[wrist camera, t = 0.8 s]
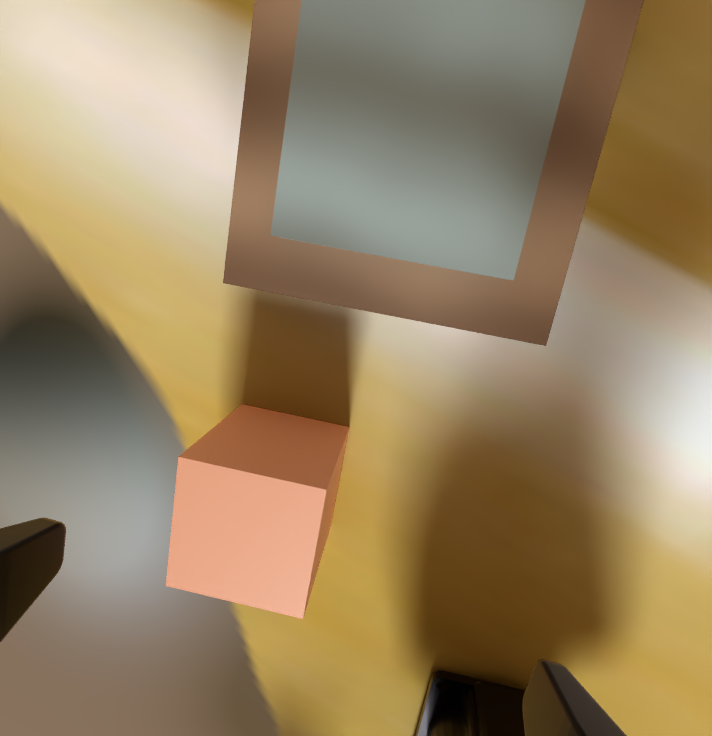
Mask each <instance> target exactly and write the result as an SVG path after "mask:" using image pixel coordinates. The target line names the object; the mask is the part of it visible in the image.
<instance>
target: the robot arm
mask: <svg viewBox="0 0 712 736" xmlns="http://www.w3.org/2000/svg"><path fill="white" fill-rule="evenodd" d="M65 535H66V527H65V525H64V524H63V523H62V522H59V521H55V520H52V519H48V518H39V519H35V520H31V521H27V522H23V523H20V524H16V525H12V526H9V527H4V528H1V529H0V642H1V641H2V640H3V639H4V637H5V636H6V635H7V634H8V632H9V631H10V630H11V629H12V628H13V627H14V625H15V624H16V623H17V622H18V621H19V619H20V618H21V617H22V616H23V614H24V613H25V612H26V611H27V610H28V608H29V607H30V606H31V605H32V603H33V602H34V601H35V600H36V599H37V598H38V596H39V595H40V594H41V593H42V591H43V590H44V589H45V588H46V586H47V585H48V584H49V583H50V582H51V581H52V579H53V578H54V577H55V576H56V574H57V573H58V571H59V569H60V568H61V565H62V562H63V556H64V546H65ZM439 682H444V683H439ZM415 736H626V735H625V733H624V732H623V731H622V730H621V729H620V728H619V727H618V726H617V724H616V723H615V722H614V721H613V720H612V719H611V718H610V717H609V715H608V714H607V713H606V712H605V711H604V710H603V709H602V708H601V706H600V705H599V704H598V703H597V702H596V701H595V700H594V699H593V698H592V696H591V695H590V694H589V693H588V692H587V691H586V690H585V689H584V687H583V686H582V685H581V684H580V683H579V682H578V681H577V680H576V678H575V677H574V676H573V675H572V674H571V673H570V672H569V671H568V669H567V668H565V667H564V666H563V665H561V664H558V663H555V662H551V661H548V660H544V659H541V660H539V661H538V662H537V663H536V665H535V667H534V670H533V672H532V675H531V678H530V680H529V683H528V685H527V688H526V691H523V690H519V689H515V688H511V687H507V686H503V685H499V684H494V683H490V682H486V681H482V680H478V679H474V678H470V677H466V676H462V675H458V674H454V673H450V672H446V671H436V672H434V673H433V674H432V676H431V679H430V683H429V686H428V690H427V694H426V697H425V701H424V705H423V709H422V712H421V716H420V720H419V723H418V727H417V731H416V735H415Z"/></svg>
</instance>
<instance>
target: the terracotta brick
mask: <svg viewBox="0 0 712 736" xmlns="http://www.w3.org/2000/svg"><path fill="white" fill-rule="evenodd" d="M348 432H349V427H347V426H343V425H338V424H333V423H328V422H324V421H319V420H314V419H310V418H305V417H300V416H296V415H291V414H286V413H281V412H277V411H272V410H267V409H263V408H258V407H253V406H248V405H244V404H242V405H240V406H239V407H238V408H237V409H236V410H234V411H233V412H232V413H231V414H229V415H228V416H227V417H226V418H225V419H223V420H222V421H221V422H220V423H219V424H217V425H216V426H215V427H214V428H213V429H211V430H210V431H209V432H208V433H207V434H205V435H204V436H203V437H202V438H201V439H199V440H198V441H197V442H196V443H195V444H193V445H192V446H191V447H190V448H189V449H187V450H186V451H185V452H184V453H183V454H181V455H180V456H179V457H178V467H177V478H176V488H175V498H174V508H173V518H172V528H171V538H170V549H169V559H168V569H167V580H166V586H169V587H173V588H177V589H182V590H186V591H190V592H194V593H198V594H202V595H206V596H210V597H214V598H219V599H223V600H227V601H231V602H235V603H239V604H243V605H247V606H252V607H256V608H260V609H264V610H268V611H272V612H276V613H280V614H285V615H289V616H293V617H297V618H301V619H303V617H304V614H305V610H306V607H307V604H308V600H309V597H310V594H311V590H312V587H313V584H314V580H315V577H316V573H317V570H318V567H319V563H320V560H321V557H322V553H323V550H324V547H325V543H326V540H327V536H328V533H329V530H330V526H331V522H332V517H333V511H334V506H335V501H336V495H337V490H338V485H339V480H340V474H341V469H342V464H343V459H344V453H345V448H346V443H347V437H348Z"/></svg>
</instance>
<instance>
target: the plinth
mask: <svg viewBox="0 0 712 736" xmlns="http://www.w3.org/2000/svg"><path fill="white" fill-rule="evenodd" d="M643 1H644V0H255V3H254V12H253V21H252V30H251V39H250V48H249V57H248V66H247V75H246V84H245V92H244V101H243V110H242V119H241V128H240V137H239V146H238V155H237V164H236V173H235V181H234V190H233V199H232V208H231V217H230V226H229V235H228V244H227V253H226V262H225V271H224V279H223V283H226V284H231V285H236V286H241V287H246V288H251V289H256V290H262V291H267V292H272V293H277V294H282V295H287V296H292V297H297V298H303V299H308V300H313V301H318V302H323V303H328V304H333V305H339V306H344V307H349V308H354V309H359V310H364V311H369V312H375V313H380V314H385V315H390V316H395V317H400V318H405V319H411V320H416V321H421V322H426V323H431V324H436V325H441V326H447V327H452V328H457V329H462V330H467V331H472V332H477V333H483V334H488V335H493V336H498V337H503V338H508V339H513V340H519V341H524V342H529V343H534V344H539V345H544V346H546V344H547V340H548V337H549V333H550V330H551V326H552V323H553V319H554V316H555V312H556V309H557V305H558V301H559V298H560V294H561V291H562V287H563V284H564V280H565V277H566V273H567V270H568V266H569V263H570V259H571V256H572V252H573V248H574V245H575V241H576V238H577V234H578V231H579V227H580V224H581V220H582V217H583V213H584V210H585V206H586V203H587V199H588V195H589V192H590V188H591V185H592V181H593V178H594V174H595V171H596V167H597V164H598V160H599V157H600V153H601V150H602V146H603V142H604V139H605V135H606V132H607V128H608V125H609V121H610V118H611V114H612V111H613V107H614V104H615V100H616V97H617V93H618V89H619V86H620V82H621V79H622V75H623V72H624V68H625V65H626V61H627V58H628V54H629V51H630V47H631V44H632V40H633V36H634V33H635V29H636V26H637V22H638V19H639V15H640V12H641V8H642V5H643Z"/></svg>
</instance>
